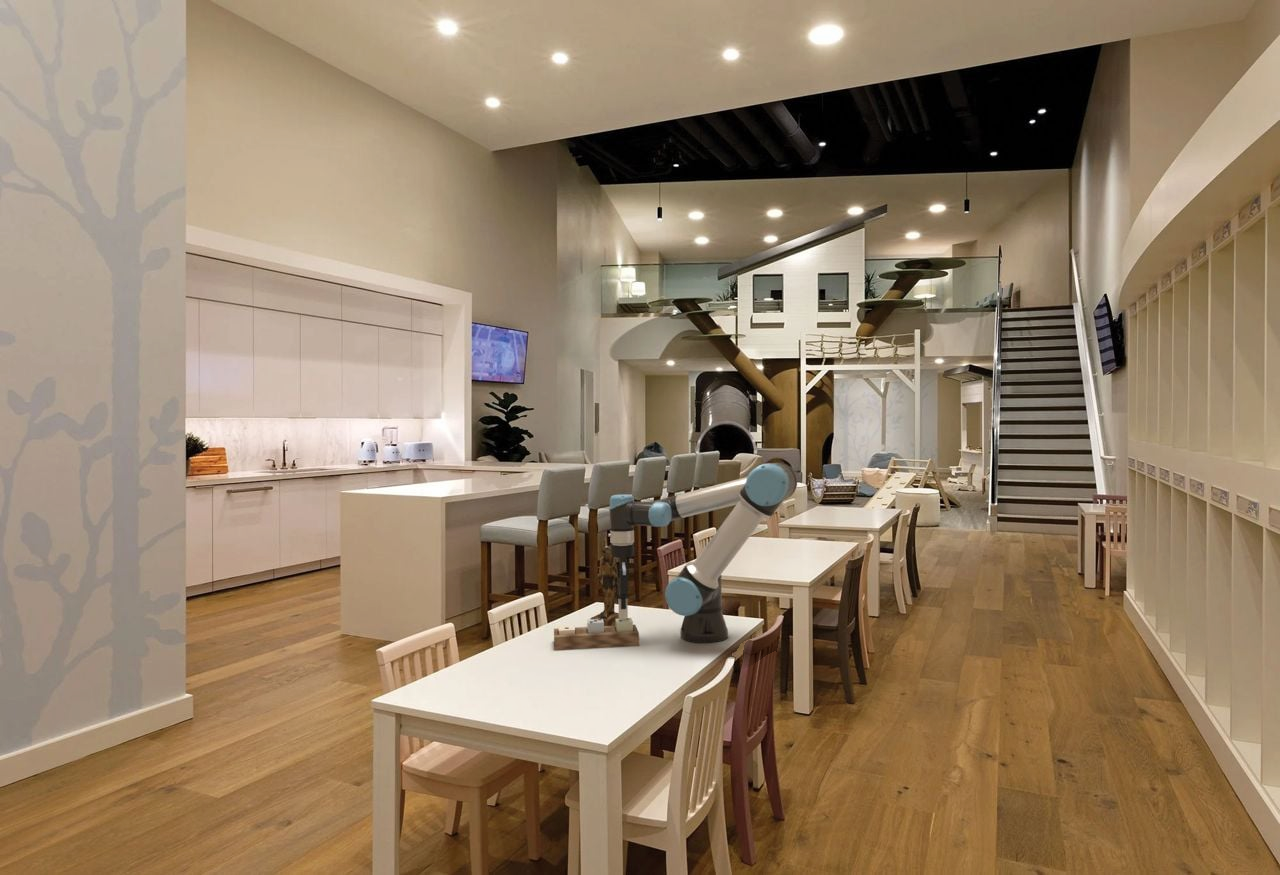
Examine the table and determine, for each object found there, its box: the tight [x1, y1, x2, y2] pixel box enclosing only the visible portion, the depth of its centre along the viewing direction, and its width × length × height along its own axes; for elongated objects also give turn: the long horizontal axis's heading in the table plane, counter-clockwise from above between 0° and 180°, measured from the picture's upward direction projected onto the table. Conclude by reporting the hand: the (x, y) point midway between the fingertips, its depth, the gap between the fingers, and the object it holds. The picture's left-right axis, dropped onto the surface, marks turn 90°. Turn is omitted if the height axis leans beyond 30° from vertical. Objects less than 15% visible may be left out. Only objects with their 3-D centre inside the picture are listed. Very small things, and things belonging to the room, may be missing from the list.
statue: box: [589, 538, 619, 626], centre depth 272 cm, size 8×11×30 cm
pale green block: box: [615, 617, 634, 632], centre depth 253 cm, size 5×5×4 cm
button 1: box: [558, 625, 576, 635], centre depth 251 cm, size 5×5×4 cm
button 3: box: [586, 619, 604, 633], centre depth 252 cm, size 5×5×4 cm
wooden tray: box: [553, 624, 640, 651], centre depth 252 cm, size 26×11×4 cm, turn 97°
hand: (623, 618), depth 253 cm, fingers closed
